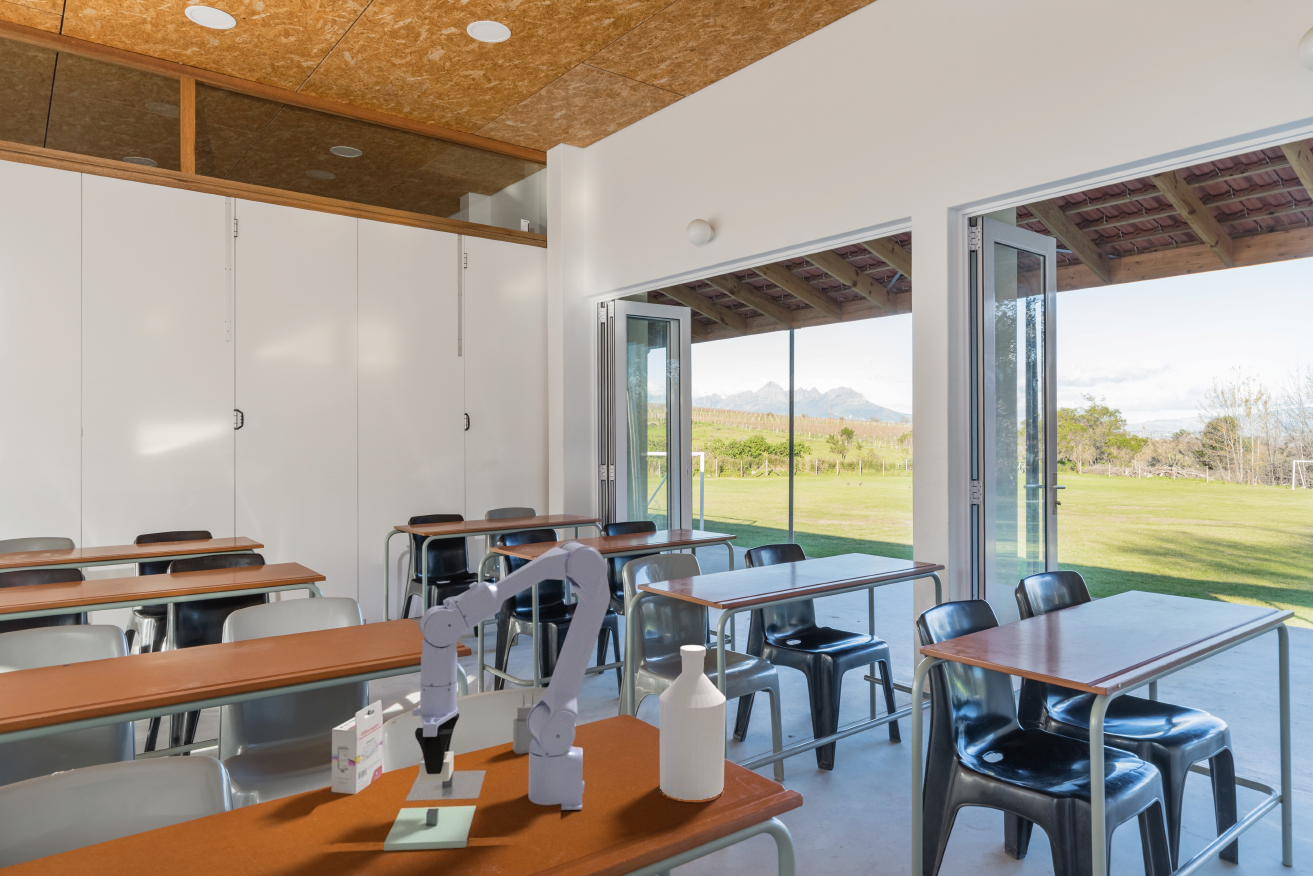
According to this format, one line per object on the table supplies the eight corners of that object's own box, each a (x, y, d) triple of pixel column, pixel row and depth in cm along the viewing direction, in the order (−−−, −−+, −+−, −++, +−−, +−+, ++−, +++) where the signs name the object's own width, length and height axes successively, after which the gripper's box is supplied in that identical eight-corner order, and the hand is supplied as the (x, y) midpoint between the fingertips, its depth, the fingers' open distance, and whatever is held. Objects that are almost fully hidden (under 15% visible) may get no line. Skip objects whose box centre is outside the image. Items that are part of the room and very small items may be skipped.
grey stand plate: (485, 775, 144) (486, 759, 144) (478, 804, 132) (478, 786, 132) (419, 777, 142) (419, 761, 142) (405, 806, 130) (405, 788, 130)
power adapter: (511, 754, 154) (512, 693, 155) (537, 750, 157) (538, 689, 157) (516, 759, 152) (517, 697, 152) (543, 755, 154) (544, 693, 155)
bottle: (646, 783, 141) (647, 644, 142) (701, 771, 147) (702, 638, 148) (680, 809, 130) (682, 659, 131) (738, 795, 136) (739, 651, 137)
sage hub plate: (475, 811, 129) (476, 793, 129) (465, 847, 117) (466, 827, 117) (401, 814, 127) (401, 796, 127) (383, 850, 115) (383, 830, 116)
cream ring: (453, 769, 128) (453, 751, 129) (448, 781, 124) (449, 762, 124) (424, 770, 128) (425, 752, 128) (419, 781, 123) (419, 762, 124)
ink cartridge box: (357, 778, 142) (359, 696, 142) (382, 780, 141) (384, 698, 141) (329, 797, 134) (331, 711, 134) (355, 800, 133) (357, 713, 133)
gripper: (422, 670, 133) (420, 751, 133) (403, 695, 119) (401, 785, 118) (464, 670, 134) (462, 750, 133) (450, 694, 120) (448, 784, 119)
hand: (437, 766), depth 126 cm, fingers closed on cream ring, 5 cm apart
